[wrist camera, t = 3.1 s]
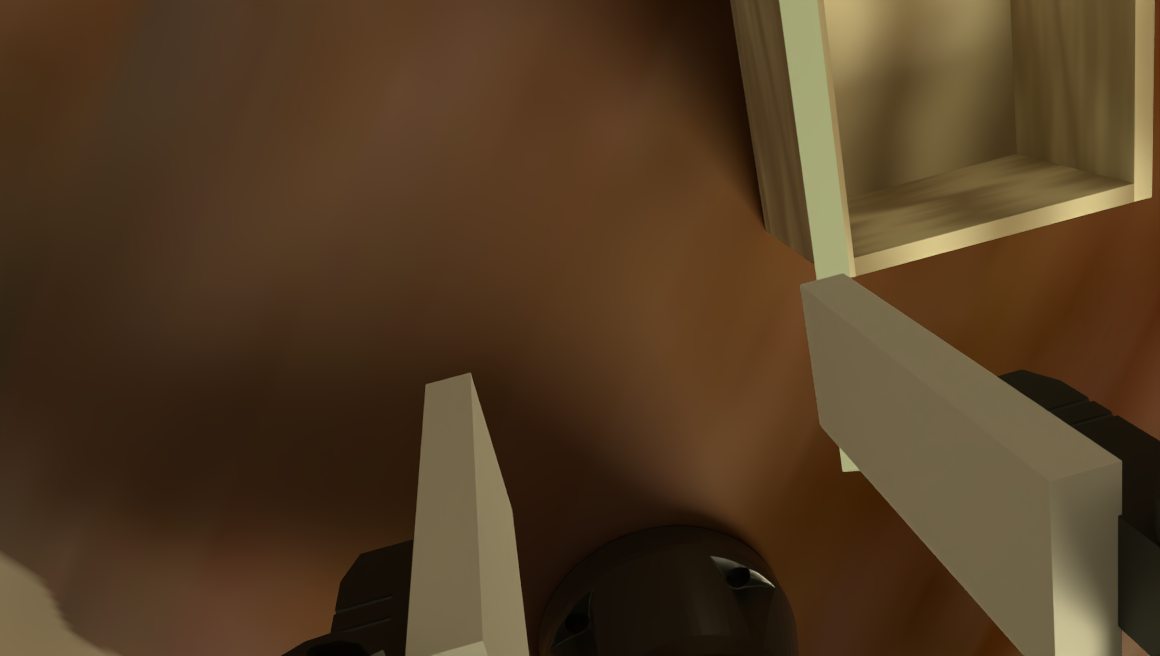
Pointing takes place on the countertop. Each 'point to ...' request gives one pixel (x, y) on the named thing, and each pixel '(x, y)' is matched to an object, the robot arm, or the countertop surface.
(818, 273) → the lid
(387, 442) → the countertop surface
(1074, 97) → the crate
